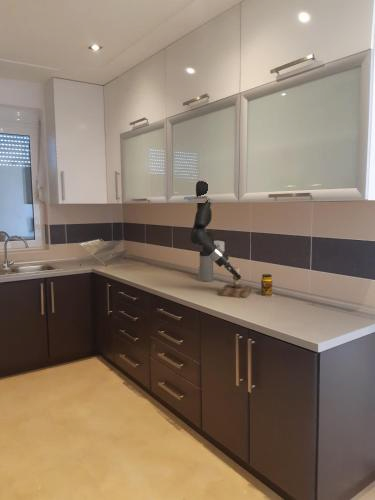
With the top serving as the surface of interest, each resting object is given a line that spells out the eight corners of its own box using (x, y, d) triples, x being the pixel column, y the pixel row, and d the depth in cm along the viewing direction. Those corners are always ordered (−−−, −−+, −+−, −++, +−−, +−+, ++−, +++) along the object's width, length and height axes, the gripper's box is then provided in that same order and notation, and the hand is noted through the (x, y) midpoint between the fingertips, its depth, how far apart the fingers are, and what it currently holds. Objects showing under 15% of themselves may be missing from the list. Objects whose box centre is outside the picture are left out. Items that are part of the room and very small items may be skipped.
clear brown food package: (220, 296, 222) (220, 289, 221) (226, 290, 235) (226, 284, 234) (246, 298, 216) (246, 290, 216) (251, 292, 229) (251, 285, 229)
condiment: (264, 297, 218) (264, 276, 217) (256, 294, 226) (256, 273, 225) (275, 296, 221) (276, 275, 219) (267, 292, 229) (267, 272, 227)
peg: (232, 285, 224) (232, 268, 223) (233, 284, 227) (233, 267, 226) (238, 286, 223) (238, 268, 221) (240, 284, 226) (240, 267, 225)
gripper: (224, 253, 216) (245, 275, 217) (222, 250, 230) (242, 270, 231) (214, 263, 217) (236, 284, 218) (213, 259, 231) (233, 279, 232)
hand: (239, 277), depth 224 cm, fingers closed on peg, 3 cm apart
